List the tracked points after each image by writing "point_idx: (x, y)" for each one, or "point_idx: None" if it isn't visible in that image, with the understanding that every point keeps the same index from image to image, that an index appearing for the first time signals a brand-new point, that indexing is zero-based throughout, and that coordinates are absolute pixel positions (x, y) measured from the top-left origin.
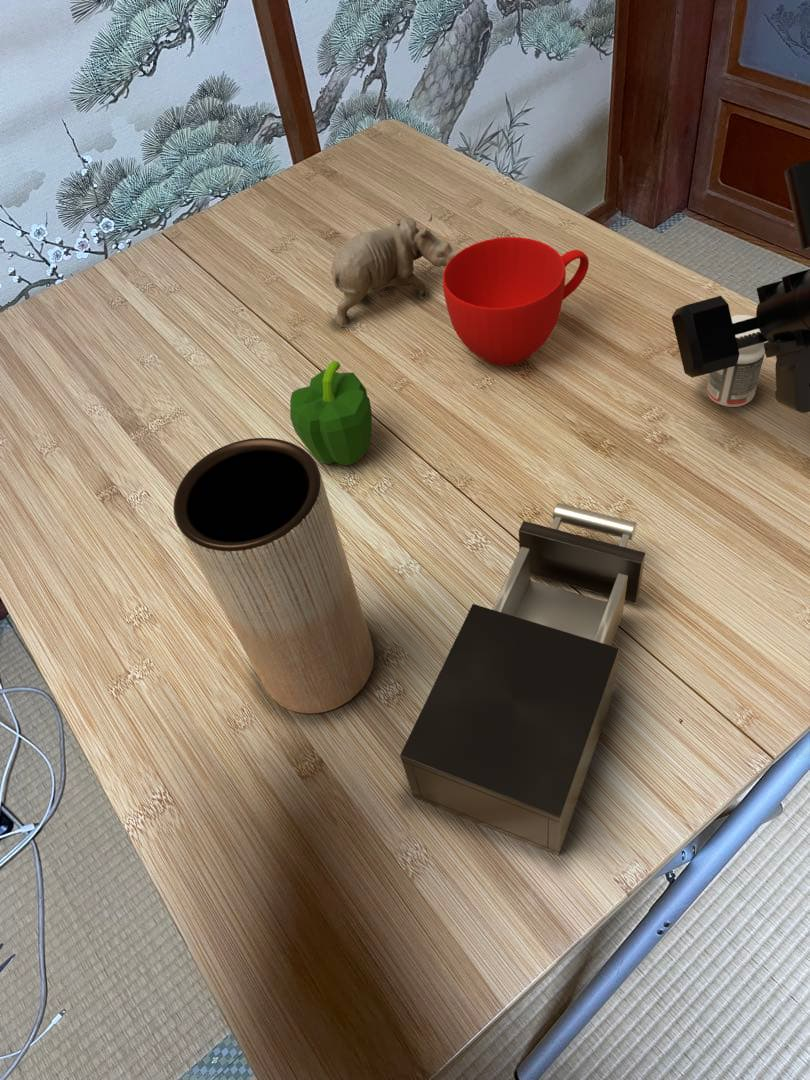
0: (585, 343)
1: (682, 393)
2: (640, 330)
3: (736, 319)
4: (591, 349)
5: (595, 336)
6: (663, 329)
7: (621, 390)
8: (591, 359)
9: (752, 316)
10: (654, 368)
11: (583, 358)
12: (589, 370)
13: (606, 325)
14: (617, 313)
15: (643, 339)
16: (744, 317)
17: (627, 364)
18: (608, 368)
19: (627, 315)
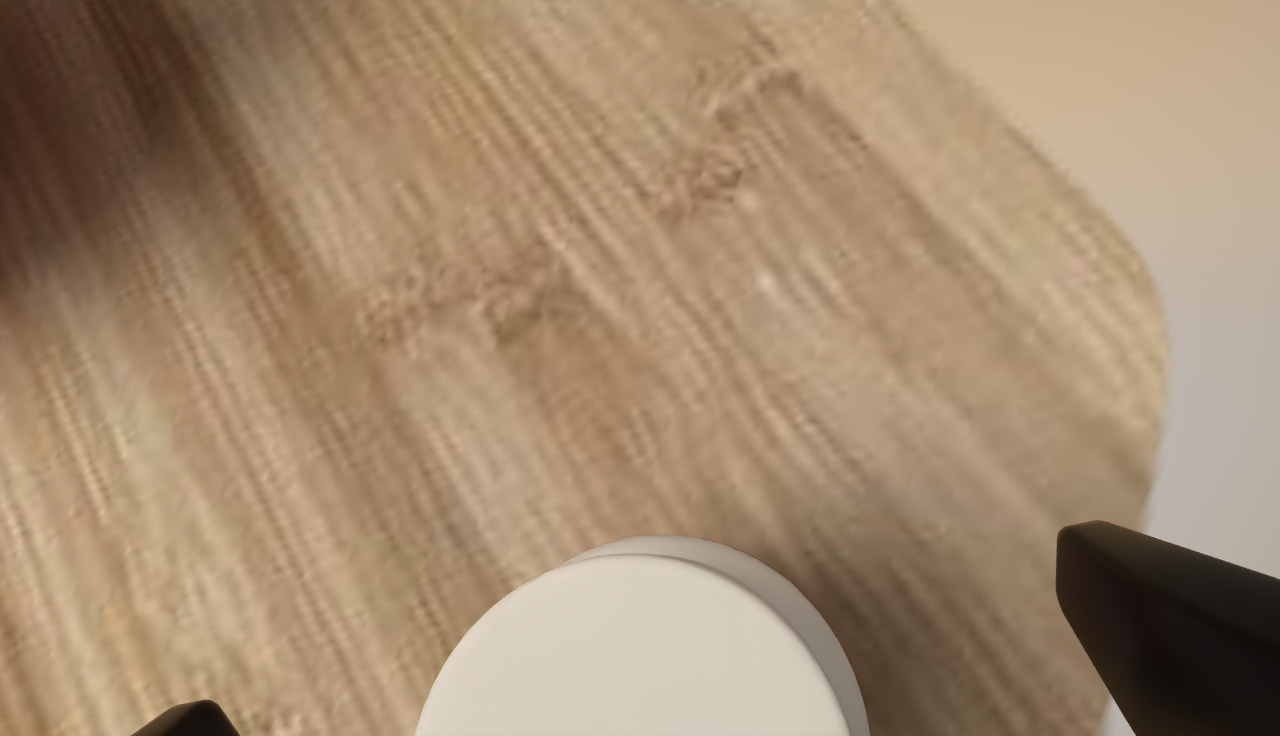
0: (166, 194)
1: (456, 636)
2: (419, 145)
3: (587, 634)
4: (174, 236)
5: (222, 156)
6: (519, 153)
7: (190, 547)
8: (149, 302)
9: (763, 620)
10: (390, 417)
11: (120, 290)
12: (112, 375)
13: (292, 93)
14: (363, 25)
15: (411, 206)
16: (679, 613)
17: (283, 365)
18: (194, 377)
19: (399, 42)
